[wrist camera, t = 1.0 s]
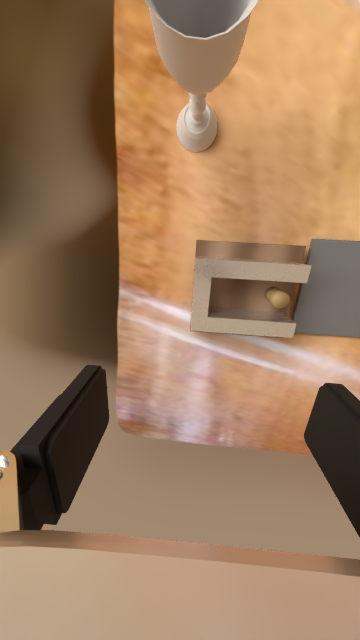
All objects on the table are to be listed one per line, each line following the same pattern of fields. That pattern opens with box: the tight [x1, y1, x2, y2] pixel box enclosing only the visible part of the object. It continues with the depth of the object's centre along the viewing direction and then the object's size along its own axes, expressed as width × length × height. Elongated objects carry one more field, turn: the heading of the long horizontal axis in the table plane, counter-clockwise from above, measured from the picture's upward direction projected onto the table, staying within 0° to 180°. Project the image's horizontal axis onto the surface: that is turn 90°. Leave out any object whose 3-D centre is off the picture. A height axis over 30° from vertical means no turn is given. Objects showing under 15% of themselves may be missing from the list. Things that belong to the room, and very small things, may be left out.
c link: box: [190, 256, 312, 338], centre depth 28 cm, size 13×9×4 cm
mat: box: [292, 239, 360, 337], centre depth 32 cm, size 12×14×1 cm
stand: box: [190, 240, 306, 338], centre depth 30 cm, size 14×13×6 cm
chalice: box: [145, 0, 258, 152], centre depth 18 cm, size 7×7×18 cm
